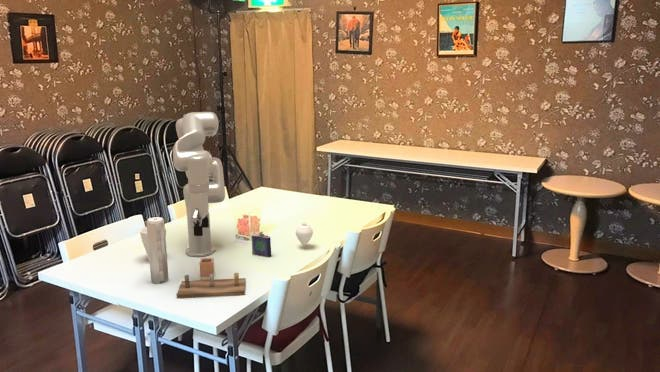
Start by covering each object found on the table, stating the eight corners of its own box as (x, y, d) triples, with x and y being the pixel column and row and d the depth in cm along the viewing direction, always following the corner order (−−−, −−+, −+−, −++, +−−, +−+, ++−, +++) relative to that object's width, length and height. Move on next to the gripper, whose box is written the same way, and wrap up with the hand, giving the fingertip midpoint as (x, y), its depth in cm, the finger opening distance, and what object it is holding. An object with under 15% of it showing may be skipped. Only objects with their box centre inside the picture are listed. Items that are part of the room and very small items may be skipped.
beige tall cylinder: (170, 277, 217) (166, 216, 211) (166, 283, 210) (161, 221, 205) (153, 277, 217) (148, 216, 211) (149, 284, 210) (143, 221, 204)
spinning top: (314, 245, 252) (313, 220, 249) (311, 251, 245) (311, 225, 242) (297, 244, 253) (297, 219, 250) (294, 250, 245) (294, 224, 243)
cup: (160, 265, 229) (158, 234, 226) (137, 263, 231) (135, 232, 228) (172, 256, 239) (170, 226, 236) (150, 254, 241) (148, 224, 238)
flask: (251, 254, 241) (250, 231, 238) (254, 252, 243) (254, 229, 241) (269, 258, 237) (268, 234, 234) (272, 255, 239) (272, 232, 237)
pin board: (181, 284, 210) (180, 269, 208) (245, 281, 212) (245, 267, 211) (176, 298, 198) (175, 282, 197) (244, 295, 201) (243, 279, 199)
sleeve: (201, 275, 219) (200, 258, 217) (215, 274, 219) (214, 257, 218) (199, 280, 214) (198, 263, 212) (213, 279, 214) (212, 262, 212)
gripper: (194, 182, 214) (197, 224, 218) (182, 193, 197) (185, 239, 201) (214, 182, 213) (216, 224, 218) (203, 193, 197) (206, 239, 201)
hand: (201, 231), depth 209 cm, fingers open, 9 cm apart
